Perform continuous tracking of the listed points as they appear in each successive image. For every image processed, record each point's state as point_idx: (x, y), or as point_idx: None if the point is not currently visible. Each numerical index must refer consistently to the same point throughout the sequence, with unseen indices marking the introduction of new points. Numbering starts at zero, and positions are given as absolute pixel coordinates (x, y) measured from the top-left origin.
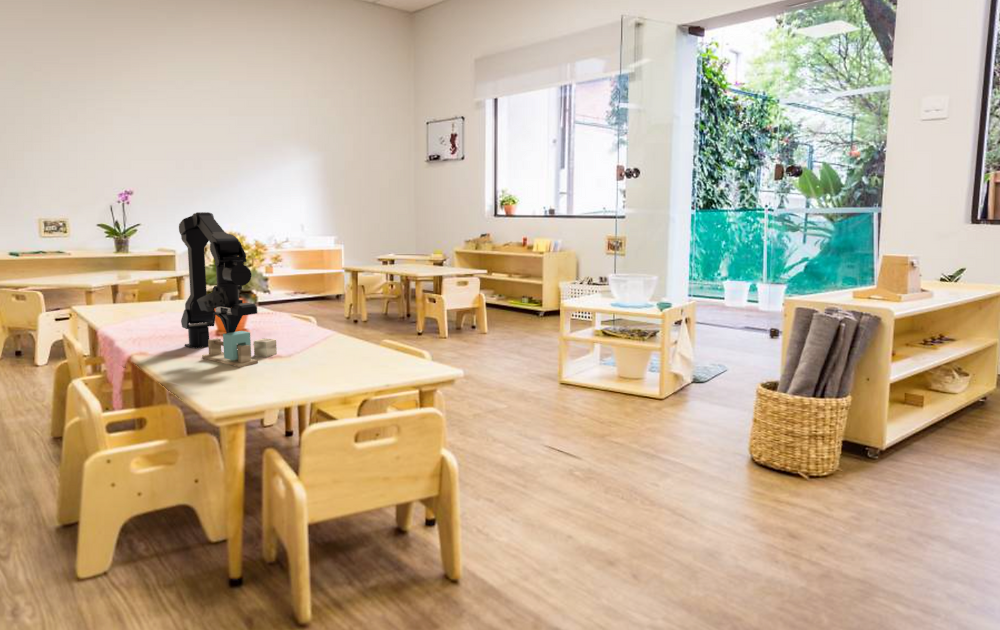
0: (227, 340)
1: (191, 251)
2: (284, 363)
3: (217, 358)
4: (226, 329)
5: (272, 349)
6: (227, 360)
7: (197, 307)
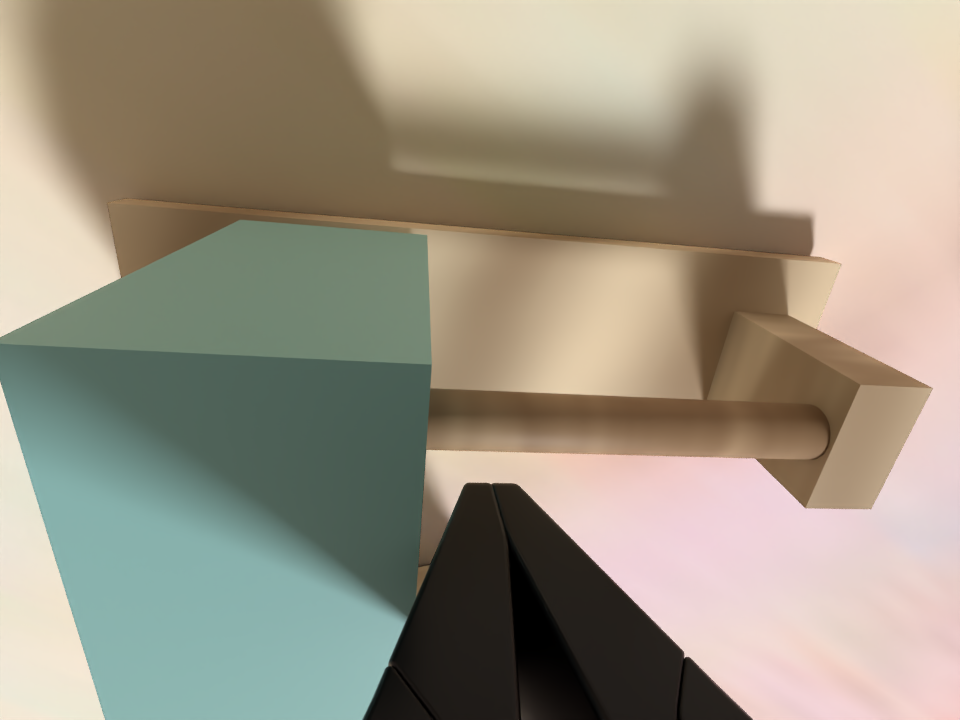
0: (263, 300)
1: None
2: (9, 549)
3: (578, 254)
4: (546, 574)
5: None
6: None
7: None
